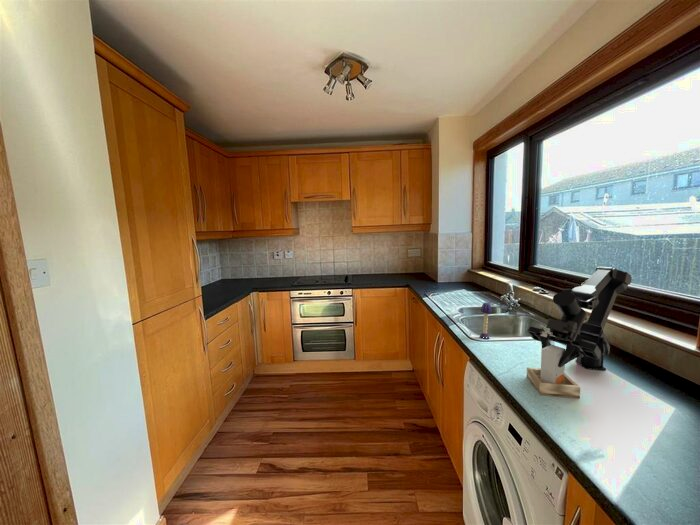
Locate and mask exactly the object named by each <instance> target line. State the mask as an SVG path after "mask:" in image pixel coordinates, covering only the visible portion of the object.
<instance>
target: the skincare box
mask: <svg viewBox="0 0 700 525" xmlns="http://www.w3.org/2000/svg"><path fill="white" fill-rule="evenodd" d="M565 350H566V348H563V347H560V346H557V345H554V344H551V345H550V346H547V347H545V348H543V349H542V348H541V352H540V353H541V354H540V356H541V357H540V359H541V360H540V368H541V375H540V380H541V381H542V382H543V383H550V384H564V372H565V365H566V364H565V365H564V366H562V367H558V364H559V361H560V359H561V358H562V356H563V354H564V352H565Z"/></svg>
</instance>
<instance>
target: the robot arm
mask: <svg viewBox="0 0 700 525" xmlns="http://www.w3.org/2000/svg"><path fill="white" fill-rule="evenodd" d="M631 283H632V275H631V274H630V273H628V272H627V271H623V270H619V269H617V268H614V267H612V266H597V267H596V269H595V272H593V274H592V275H591V276H590V277H589V278H588V279H587V280H586V281H585V282H584V283H583V284H582V285H580V286H574V288H572V289H571V288H565V289H564V290H562V291H559V292H557V293H555V294H554V295H553V297H552V301H553V303H554V305H555V306H556V308H557V310H558V311H559V313H561V316H560V318H557V319H553V318H548V320H547V323H546V326H545V328H546V329H549V333H548V332H546V331H545V330H544V328H542V327H539V326H535V325H530V326H529V327H528V329H527V330H526V331H527V333H528V334H529V336H530V337H531V339H533V340H534V341H538V342H540V344H541V350H542V349H543V348H545V347H547V346H550V345H552V343H551V342H554V343H559V344H562V345H565V352H564V354H563V356H562V358H561V359H560V361H559V364H558V367H562V366H564V365H567V364H568V363H570V362H572V361H575V362H576V363H578V364H579V365H580V366H581V367H582V368H584V369H586V370H599V371H606V370H607V368H606V367H605V366H604V360H605V359H604V358H605V355H609V354H610V348H611V345H610V344H609V342H608V340H607V334H606V332H605V329H604V328H605V326H606V324H607V321H608V318H609V316H610V314H611V311H612V309H613V306H614V303H615V302H616V298H617V296H618V295H619V294H621V293H624V291H626V290H627V288H628V286H629V285H631ZM584 309H585V310H591V312H590V314H589V317H587V313H586V311H585V310H584ZM587 318H588V319H587Z"/></svg>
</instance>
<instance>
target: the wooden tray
mask: <svg viewBox="0 0 700 525" xmlns="http://www.w3.org/2000/svg"><path fill="white" fill-rule="evenodd" d="M540 375H541V367H526V378H527V380H529V382H530V384H531V385H532V387H534V388H535V390H536V391H537V392H538V394H539V395H540V396H547V397H557V398H568V399H569V398H570V399H580V397H581V387H580V386H579V384H578V383H576V382H575V381H574V380H573V379H572V377H570V376H569V375H568V374H567V373H566V372H565V371H564V384H550V383H543V382H542V381H541V380H540Z"/></svg>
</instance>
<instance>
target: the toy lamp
mask: <svg viewBox="0 0 700 525" xmlns="http://www.w3.org/2000/svg"><path fill="white" fill-rule="evenodd" d="M480 312H482V313H483V325H482V326H483V328H482V330H483V331H482V333H481V334H480V335H479V338H480V337H481V339H482V338H483V337H484V338H486V337H487V338H489V337H490V335H489V334H488V323H489V322H488V321H489V314H492V313H493V310H492V305H491V303H490V302H483V303H482V305H481V308H480ZM490 338H491V337H490Z"/></svg>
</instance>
